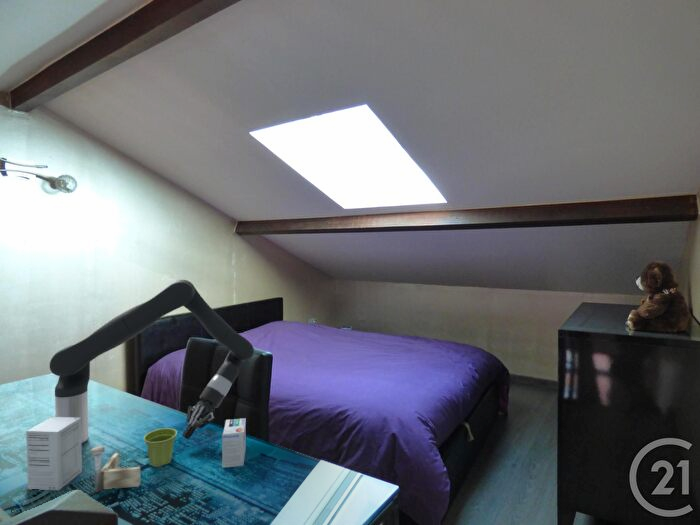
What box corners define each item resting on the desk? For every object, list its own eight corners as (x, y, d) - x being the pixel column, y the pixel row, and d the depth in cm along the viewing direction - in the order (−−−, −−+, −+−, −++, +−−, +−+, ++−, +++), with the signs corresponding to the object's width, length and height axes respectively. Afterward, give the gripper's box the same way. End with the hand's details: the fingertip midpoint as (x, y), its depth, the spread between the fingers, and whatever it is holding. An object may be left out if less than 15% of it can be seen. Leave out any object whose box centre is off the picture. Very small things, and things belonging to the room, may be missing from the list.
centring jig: (80, 484, 111) (80, 443, 111) (117, 468, 120) (117, 430, 119) (104, 503, 103) (103, 459, 103) (142, 484, 111) (141, 444, 111)
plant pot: (151, 454, 128) (151, 428, 127) (181, 453, 128) (181, 427, 128) (138, 470, 118) (138, 442, 118) (170, 469, 119) (170, 441, 119)
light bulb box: (225, 450, 130) (225, 419, 130) (246, 448, 132) (246, 417, 131) (221, 468, 120) (221, 434, 120) (244, 466, 121) (244, 432, 121)
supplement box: (53, 470, 118) (52, 415, 117) (83, 471, 118) (82, 416, 117) (26, 490, 108) (24, 430, 108) (58, 491, 108) (57, 431, 107)
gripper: (198, 381, 141) (166, 427, 131) (221, 389, 134) (189, 438, 124) (211, 391, 146) (181, 436, 136) (234, 399, 138) (204, 448, 128)
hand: (185, 437), depth 130 cm, fingers closed
